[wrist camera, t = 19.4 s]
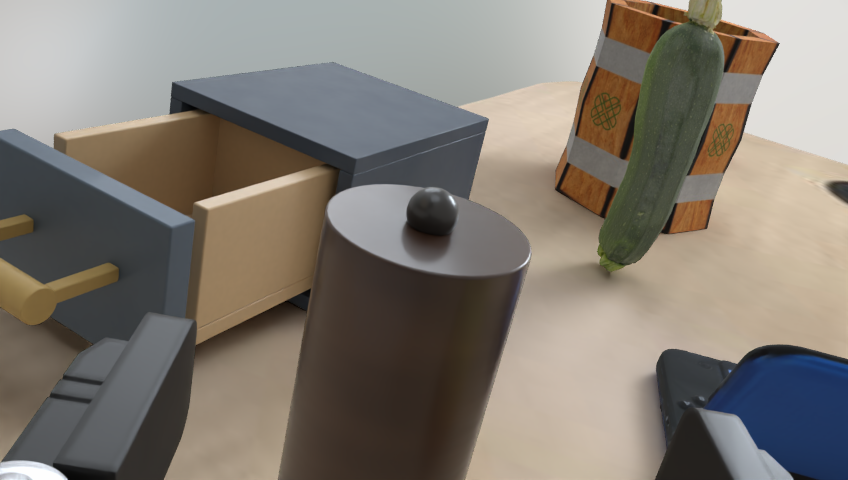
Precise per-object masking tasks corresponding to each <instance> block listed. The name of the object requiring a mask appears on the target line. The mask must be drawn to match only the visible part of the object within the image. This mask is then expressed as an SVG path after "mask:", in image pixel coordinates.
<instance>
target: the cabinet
mask: <svg viewBox="0 0 848 480" xmlns="http://www.w3.org/2000/svg"><path fill="white" fill-rule="evenodd" d="M199 109H201V110H203V111H206V112H208V113H210V114H213V115H215V116H217V117H220V118H222V119H224V120H227V121H229V122H231V123H234V124H236V125H238V126H241V127H243V128H245V129H248V130H250V131H252V132H255V133H257V134H259V135H262V136H264V137H266V138H269V139H271V140H273V141H276V142H278V143H280V144H283V145H285V146H287V147H290V148H292V149H294V150H297V151H299V152H301V153H304V154H306V155H308V156H311V157H313V158H315V159H318V160H320V161H322V162H325V163H327V164H329V165H332V166H334V167H336V168H339V169H341V170H340V172H339V177H338V183H337V188H336V194H338V193H339V192H342V191H344V190H346V189H350V188H353V187H358V186H364V185H374V184H394V185H407V186H415V187H422V188H427V187H439V188H442V189H444V190H446V191H448V192H449V193H450V194H452V195H455V196H458V197H461V198H464V199H467V200H468V199H469V195H470V191H471V187H472V183H473V179H474V175H475V172H476V168H477V164H478V160H479V156H480V152H481V148H482V144H483V140H484V136H485V131H486V128H487V124H488V121H489V119H488V118H486V117H483V116H480V115H477V114H475V113H472V112H469V111H466V110H464V109H461V108H458V107H455V106H452V105H450V104H447V103H444V102H442V101H439V100H436V99H433V98H430V97H428V96H425V95H422V94H419V93H417V92H414V91H411V90H409V89H406V88H403V87H400V86H398V85H395V84H392V83H389V82H387V81H384V80H381V79H378V78H376V77H373V76H370V75H367V74H365V73H362V72H359V71H356V70H354V69H351V68H348V67H345V66H343V65H340V64H337V63H334V62H329V63H321V64H314V65H305V66H297V67H289V68H281V69H274V70H265V71H257V72H250V73H242V74H233V75H225V76H218V77H209V78H202V79H193V80H186V81H177V82H172V91H171V103H170V114H175V113H181V112H187V111H193V110H199ZM336 194H335V195H336ZM310 293H311V288H310V289H308V290H306V291H304V292H302V293H300V294H298V295H296V296H294V297H292V298H290V299H288V300H287V301H289V302H291V303H293V304H295V305H297V306H298V307H300V308H302V309H304V310H306V311H307V310H308V304H309V298H310Z"/></svg>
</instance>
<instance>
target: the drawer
mask: <svg viewBox="0 0 848 480" xmlns="http://www.w3.org/2000/svg"><path fill="white" fill-rule="evenodd" d="M340 170H341V169H339V168H336V167H334V166H332V165H329V164H327V163H325V162H322V161H320V160H318V159H315V158H313V157H311V156H308V155H306V154H304V153H301V152H299V151H297V150H294V149H292V148H290V147H287V146H285V145H283V144H280V143H278V142H276V141H273V140H271V139H269V138H266V137H264V136H262V135H259V134H257V133H255V132H252V131H250V130H248V129H245V128H243V127H241V126H238V125H236V124H234V123H231V122H229V121H227V120H224V119H222V118H220V117H217V116H215V115H213V114H210V113H208V112H206V111H203V110H201V109H199V110H193V111H187V112H181V113H175V114H169V115H163V116H158V117H151V118H145V119H140V120H133V121H127V122H121V123H115V124H110V125H104V126H98V127H92V128H86V129H80V130H74V131H68V132H62V133H56V134H54V149H53V148H51V147H49V146H47V145H45V144H43V143H41V142H40V141H37V140H36V139H34V138H32V137H30V136H28V135H25V134H24V133H22V132H20V131H18V130H16V129H9V130H3V131H0V307H1V308H2V309H4V310H5V311H7V312H8V313H10V314H11V315H13V316H14V317H16V318H17V319H19V320H21V321H22V322H24V323H25V324H27V325H37V324H40V323H42V322H44V321H45V320H46V319H48V318H49V317H51V318H53V319H54V320H56V321H58V322H59V323H61V324H62V325H64V326H65V327H67V328H69V329H70V330H72V331H73V332H75V333H76V334H78V335H80V336H81V337H83V338H84V339H86V340H88V341H89V342H91V343H92V344H95V343H97V342H99V341H100V340H102V339H104V338H106V337H107V338H112V339H118V340H124V341H129V340H130V338H131V337H132V335H133V334H134V332H135V330H136V329H137V327H138V326H139V324H140V322H141V321H142V319H143V318H144V316H145V315H146V314H147V313H148V312H152V313H158V314H164V315H169V316H175V317H181V318H187V319H193V320H196V322H197V337H196V345H197V344H199V343H201V342H203V341H205V340H207V339H209V338H211V337H213V336H215V335H217V334H219V333H221V332H223V331H225V330H227V329H229V328H231V327H233V326H235V325H237V324H240V323H242V322H244V321H246V320H248V319H250V318H252V317H254V316H256V315H258V314H260V313H262V312H264V311H266V310H268V309H270V308H272V307H274V306H276V305H278V304H280V303H282V302H284V301H286V300H288V299H290V298H292V297H294V296H296V295H298V294H300V293H302V292H304V291H306V290H308V289H310V288H311V287H312V281H313V275H314V270H315V264H316V258H317V253H318V247H319V241H320V235H321V230H322V224H323V218H324V212H325V207H326V205H327V203H328V202H329V200H330V199H331V198H332V197H333V196H335V194H336V188H337V183H338V177H339V172H340Z"/></svg>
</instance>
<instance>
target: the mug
mask: <svg viewBox="0 0 848 480" xmlns="http://www.w3.org/2000/svg"><path fill="white" fill-rule="evenodd" d="M684 12H687V13H688V11H686V10H681V9H678V8H673V7H669V6H665V5H661V4H656V3H653V2H648V1H641V0H607V3H606V9H605V14H604V20H603V25H602V29H601V33H600V36H599V39H598V43H597V46H596V50H595V53H594V56H593V58H592V61H591V63H590V66H589V68H588V71H587V73H586V76H585V78H584V81H583V84H582V86H581V90H580V95H579V99H578V104H577V109H576V114H575V118H574V122H573V126H572V129H571V132H570V136H569V139H568V142H567V145H566V148H565V150H564V152H563V155H562V157H561V159H560V162H559V164H558V166H557V168H556V182H555V190H557V191H559V192H560V193H562V194H564V195H565V196H567V197H569V198H570V199H572V200H574V201H576V202H577V203H579V204H581V205H582V206H584V207H586V208H587V209H589V210H591V211H593V212H594V213H596V214H598V215H599V216H601V217H604V218H606V217H607V215H608V212H609V210H610V207H611V205H612V202H613V200H614V197H615V195H616V193H617V191H618V188H619V186H620V184H621V182H622V180H623V178H624V176H625V173H626V170H627V166H628V163H629V159H630V155H631V152H632V147H633V141H634V127H635V116H636V111H637V106H638V101H639V94H640V88H641V84H642V79H643V75H644V70H645V66H646V63H647V60H648V58H649V56H650V54H651V52H652V50H653V48H654V46H655V44H656V43H657V41H658V40H659V39H660V37H661V36H662V35H663V34H664V33H665V32H666V31H667V30H669V29H671V28H672V27H674V26H676V25H680V24H682V23H686V22H688V21H689V19H688V17H687V16H684ZM713 31H714V32H715V33H716V35H717V36H718V37H719V39H720V41H721V43H722V46H723V50H724V70H723V76H722V80H721V84H720V88H719V92H718V95H717V98H716V101H715V104H714V108H713V111H712V113H711V116H710V118H709V121H708V123H707V126H706V128H705V130H704V132H703V135H702V137H701V140H700V143H699V146H698V148H697V152H696V154H695V157H694V159H693V162H692V164H691V166H690V169H689V171H688V173H687V175H686V178H685V180H684V183H683V185H682V187H681V190H680V192H679V194H678V197H677V199H676V202H675V204H674V207H673V209H672V212H671V214H670V216H669V218H668V220H667V222H666V224H665V226H664V227H663V229H662V230H661V232H663V233H666V234H671V233H678V232H685V231H692V230H699V229H706V228H707V227H708V223H709V219H710V214H711V210H712V206H713V202H714V199H715V196H716V194H717V191H718V188H719V186H720V183H721V181H722V178H723V176H724V173H725V171H726V169H727V167H728V165H729V163H730V161H731V159H732V157H733V155H734V153H735V151H736V149H737V147H738V145H739V143H740V141H741V139H742V135H743V132H744V128H745V125H746V121H747V118H748V114H749V111H750V107H751V104H752V101H753V99H754V96H755V94H756V91H757V89H758V86H759V83H760V80H761V78H762V76H763V74H764V72H765V70H766V68H767V66H768V64H769V62H770V61H771V58H772V57H773V55H774V53H775V51H776V49H777V48H778V46H779V44H780V43H778V42H776V41H775V40H773V39H772V38H770V37H769V36H767V35H765V34H764V33H761V32H758V31H755V30H752V29H749V28H745V27H742V26H739V25H736V24H732V23H730V22H726V21H723V20H720V22H719V23H718V24H717V25H716V28H714V29H713Z"/></svg>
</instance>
